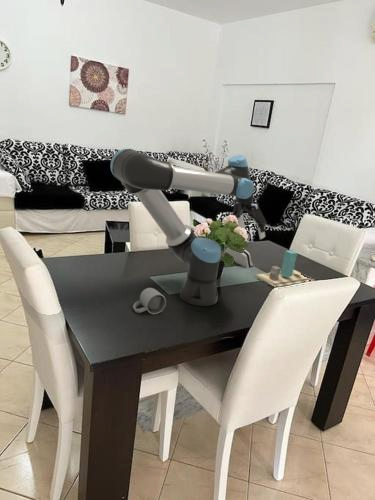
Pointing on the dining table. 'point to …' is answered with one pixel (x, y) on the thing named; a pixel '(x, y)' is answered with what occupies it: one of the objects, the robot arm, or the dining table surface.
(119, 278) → the dining table surface
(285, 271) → the block
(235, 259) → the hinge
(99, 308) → the dining table surface
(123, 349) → the dining table surface
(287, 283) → the hole board
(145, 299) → the ceramic mug
